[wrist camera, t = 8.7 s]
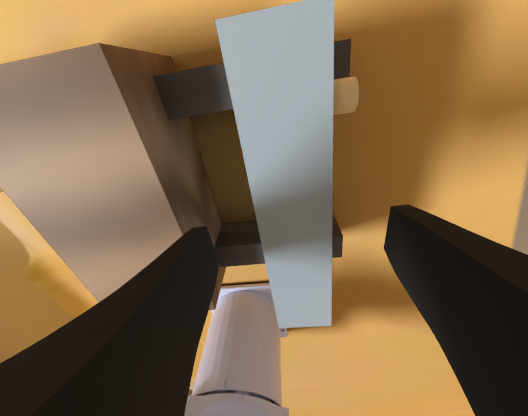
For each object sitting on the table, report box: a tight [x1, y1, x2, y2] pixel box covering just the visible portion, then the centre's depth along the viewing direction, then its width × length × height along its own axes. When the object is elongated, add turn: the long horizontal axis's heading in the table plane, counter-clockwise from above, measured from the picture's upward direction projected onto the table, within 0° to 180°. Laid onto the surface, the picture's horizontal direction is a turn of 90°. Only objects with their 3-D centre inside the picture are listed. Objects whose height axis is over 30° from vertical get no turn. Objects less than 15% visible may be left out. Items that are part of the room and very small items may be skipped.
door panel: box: [215, 0, 359, 328], centre depth 12 cm, size 14×4×8 cm, turn 9°
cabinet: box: [0, 39, 351, 310], centre depth 14 cm, size 15×17×6 cm
